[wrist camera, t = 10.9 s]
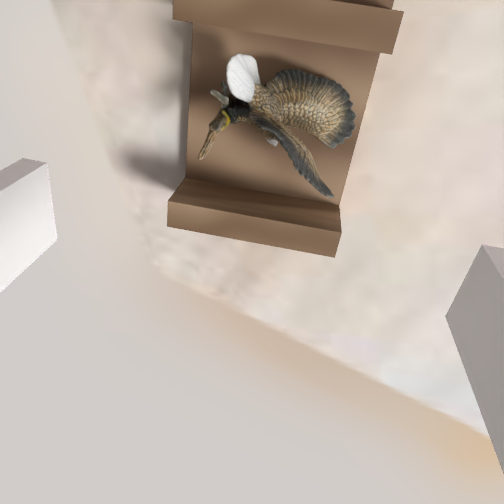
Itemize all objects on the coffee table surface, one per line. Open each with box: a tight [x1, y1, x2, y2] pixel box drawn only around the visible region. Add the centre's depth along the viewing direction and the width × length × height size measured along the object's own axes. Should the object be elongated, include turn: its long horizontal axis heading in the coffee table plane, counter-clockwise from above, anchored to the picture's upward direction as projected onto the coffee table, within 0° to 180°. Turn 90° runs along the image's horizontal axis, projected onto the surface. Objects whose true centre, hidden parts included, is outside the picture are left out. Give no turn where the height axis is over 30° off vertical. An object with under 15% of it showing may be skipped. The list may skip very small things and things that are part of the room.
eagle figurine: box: [198, 53, 356, 198], centre depth 26 cm, size 8×7×9 cm
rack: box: [167, 0, 404, 258], centre depth 28 cm, size 16×12×5 cm
